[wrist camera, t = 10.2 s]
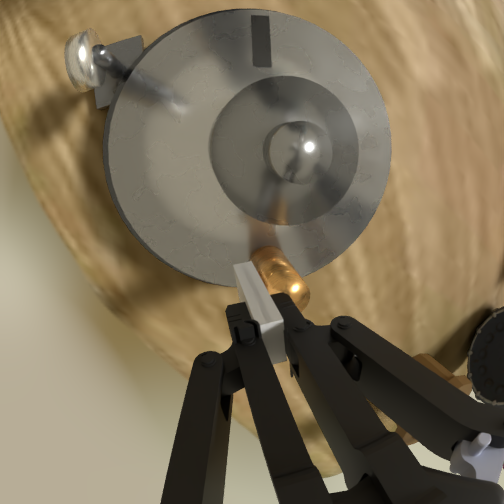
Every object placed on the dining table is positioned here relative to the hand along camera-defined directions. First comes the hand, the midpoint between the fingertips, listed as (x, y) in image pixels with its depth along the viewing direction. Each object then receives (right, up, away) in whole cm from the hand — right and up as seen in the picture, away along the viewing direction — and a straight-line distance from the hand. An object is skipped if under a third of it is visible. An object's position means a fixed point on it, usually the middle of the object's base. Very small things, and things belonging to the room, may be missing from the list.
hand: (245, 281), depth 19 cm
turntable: (+1, +9, 0) cm, 9 cm away
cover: (+2, +9, -1) cm, 9 cm away
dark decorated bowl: (+47, -13, +22) cm, 53 cm away
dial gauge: (-9, +15, -2) cm, 18 cm away
